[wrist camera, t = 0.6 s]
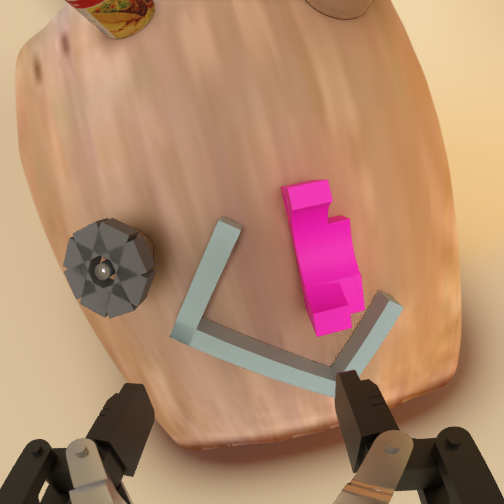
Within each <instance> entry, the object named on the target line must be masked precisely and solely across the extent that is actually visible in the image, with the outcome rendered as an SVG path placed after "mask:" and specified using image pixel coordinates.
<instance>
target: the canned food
mask: <svg viewBox="0 0 504 504" xmlns="http://www.w3.org/2000/svg"><path fill="white" fill-rule="evenodd" d="M65 1H67V2H68V3H69V4H70V5H71V6H73V7H74V8H75V9H76V10H77V11H78V12H80V13H81V14H82V15H83V16H84V17H85V18H87V19H88V20H89V21H90V22H91V23H92V24H94V25H95V26H96V27H97V28H98V29H99V30H100V31H101V32H103V33H104V34H105V35H106V36H107V37H109V38H111V39H124V38H127V37H130V36H132V35H134V34H136V33H138V32H139V31H140V30H142V29H143V28H144V27H145V26H146V25H147V24H148V23H149V22H150V20H151V19H152V17H153V15H154V12H155V5H154V2H153V0H65Z"/></svg>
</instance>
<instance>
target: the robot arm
mask: <svg viewBox="0 0 504 504" xmlns="http://www.w3.org/2000/svg"><path fill="white" fill-rule="evenodd" d="M306 1H307V2H308V3H309V4H310V5H311V6H312V7H314V8H315V9H316V10H318V11H320V12H322V13H323V14H326V15H328V16H331V17H335V18H340V19H353V18H357V17H359V16H361V15H363V14H364V13H365V12H366V11H367V9H368V8H369V6H370V5H371V3H372V2H373V1H374V0H306ZM335 409H336V414H337V418H338V421H339V424H340V428H341V431H342V435H343V438H344V442H345V445H346V449H347V452H348V456H349V459H350V463H351V467H352V470H353V473H356V472H357V473H356V474H355V476H354V478H353V479H352V481H351V482H350V483H347V485H346V486H345V487H344V488H343V490H342V491H341V493H340V494H339V496H338V497H337V498H336V500H335V501H334V503H333V504H389V502H390V500H391V497H392V496H393V493H394V491H407V490H417V491H418V494H419V497H420V501H421V504H504V498H503V496H502V494H501V492H500V490H499V488H498V486H497V484H496V482H495V480H494V478H493V476H492V474H491V472H490V470H489V468H488V466H487V464H486V462H485V460H484V458H483V457H482V455H481V453H480V451H479V449H478V447H477V446H476V444H475V442H474V440H473V439H472V437H471V435H470V434H469V432H468V431H466V430H465V429H463V428H461V427H448V428H446V429H444V430H442V431H441V432H440V433H439V434H438V436H437V438H429V439H414V438H411V437H410V436H409V435H408V434H407V433H405V432H403V431H400V430H399V428H398V426H397V424H396V422H395V420H394V418H393V416H392V414H391V412H390V410H389V408H388V406H387V404H386V403H385V400H384V398H383V396H382V394H381V392H380V390H379V388H378V386H377V385H376V384H374V383H373V382H372V381H370V380H369V379H367V380H362V381H360V379H359V376H358V374H357V372H356V370H350V371H344V372H338V373H337V374H336V387H335ZM154 418H155V414H154V409H153V407H152V404H151V402H150V399H149V397H148V394H147V392H146V389H145V387H144V385H143V384H133V383H126V384H124V386H123V387H122V389H121V391H120V392H119V394H118V393H116V394H114V395H113V396H112V397H111V398H110V399H108V400H107V402H106V404H105V405H104V407H103V410H101V412H100V414H99V416H98V417H97V419H96V421H95V422H94V424H93V426H92V428H91V429H90V431H89V432H88V434H87V436H86V438H81V439H77V440H75V441H73V442H71V443H70V444H69V445H68V447H67V448H52V447H51V446H50V445H49V443H48V442H47V441H45V440H43V439H36V440H33V441H31V442H30V443H28V444H27V445H26V447H25V448H24V450H23V452H22V453H21V455H20V456H19V458H18V460H17V461H16V463H15V465H14V466H13V468H12V470H11V471H10V473H9V475H8V477H7V479H6V480H5V482H4V484H3V485H2V487H1V489H0V504H133V502H132V500H131V498H130V496H129V494H128V492H127V490H126V488H125V486H124V483H123V482H122V481H121V480H122V477H123V475H126V476H131V477H133V476H134V473H135V471H136V468H137V465H138V462H139V460H140V457H141V455H142V452H143V449H144V447H145V444H146V441H147V439H148V436H149V433H150V431H151V428H152V426H153V423H154ZM45 480H46V481H47V482H48V484H49V485H48V487H47V489H46V492H45V494H44V496H43V498H42V500H41V502H39V499H38V495H39V493H40V490H41V488H42V486H43V484H44V482H45Z"/></svg>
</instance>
